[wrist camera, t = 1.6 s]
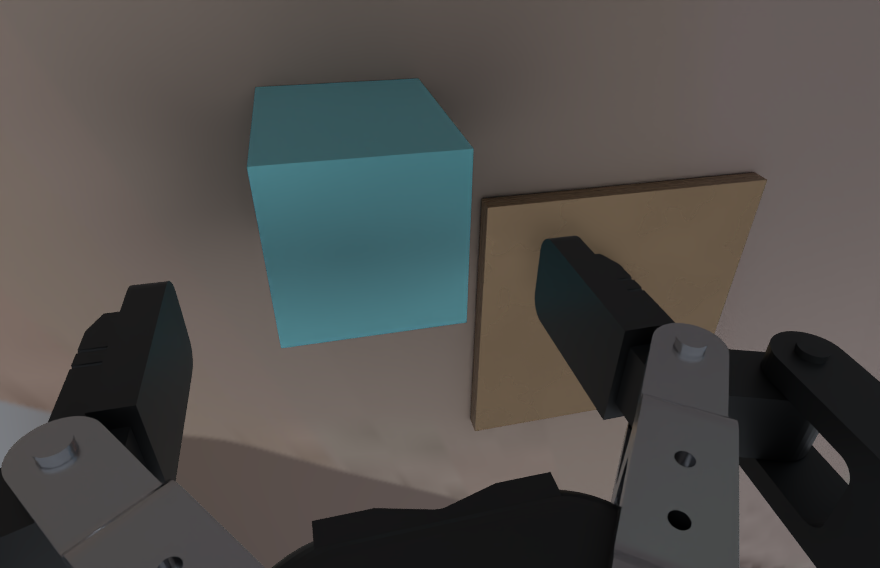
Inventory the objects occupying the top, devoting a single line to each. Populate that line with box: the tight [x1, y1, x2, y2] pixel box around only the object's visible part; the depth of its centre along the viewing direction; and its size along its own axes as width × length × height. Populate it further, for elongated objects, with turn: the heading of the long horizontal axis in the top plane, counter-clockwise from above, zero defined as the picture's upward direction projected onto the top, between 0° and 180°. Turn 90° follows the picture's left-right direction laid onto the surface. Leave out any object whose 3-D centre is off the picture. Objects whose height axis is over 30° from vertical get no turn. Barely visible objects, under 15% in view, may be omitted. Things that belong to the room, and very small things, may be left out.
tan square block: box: [471, 172, 767, 431], centre depth 24 cm, size 12×12×7 cm
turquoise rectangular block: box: [247, 78, 473, 348], centre depth 17 cm, size 5×5×7 cm
